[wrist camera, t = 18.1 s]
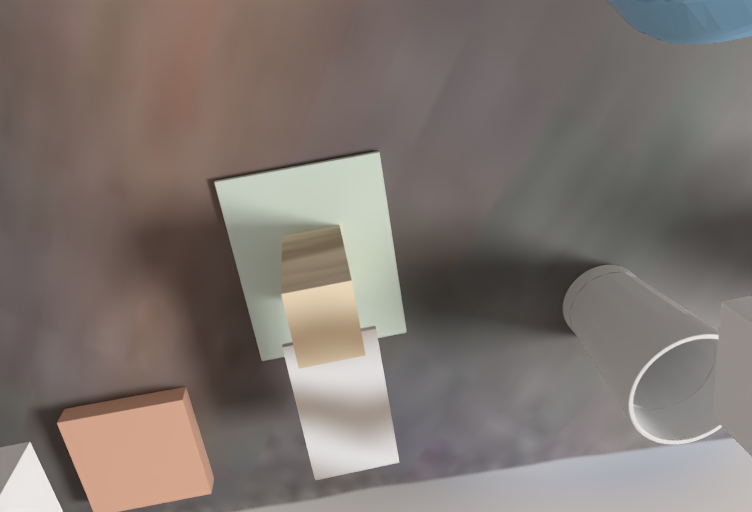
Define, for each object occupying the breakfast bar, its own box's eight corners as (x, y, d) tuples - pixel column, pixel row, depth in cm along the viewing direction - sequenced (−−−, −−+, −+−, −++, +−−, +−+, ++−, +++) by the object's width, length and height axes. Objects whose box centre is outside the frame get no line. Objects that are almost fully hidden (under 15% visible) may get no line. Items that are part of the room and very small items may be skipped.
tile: (56, 422, 46) (95, 516, 49) (182, 399, 46) (211, 493, 50) (66, 404, 48) (102, 495, 51) (186, 383, 48) (214, 474, 52)
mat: (215, 180, 42) (214, 182, 42) (378, 150, 42) (379, 152, 42) (262, 358, 48) (261, 361, 47) (405, 329, 48) (406, 332, 48)
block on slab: (267, 238, 43) (263, 297, 35) (353, 222, 44) (369, 277, 36) (311, 424, 50) (317, 510, 42) (386, 408, 50) (406, 491, 42)
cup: (595, 363, 52) (677, 464, 41) (531, 308, 49) (602, 402, 38) (670, 294, 50) (777, 381, 39) (609, 234, 47) (706, 309, 36)
